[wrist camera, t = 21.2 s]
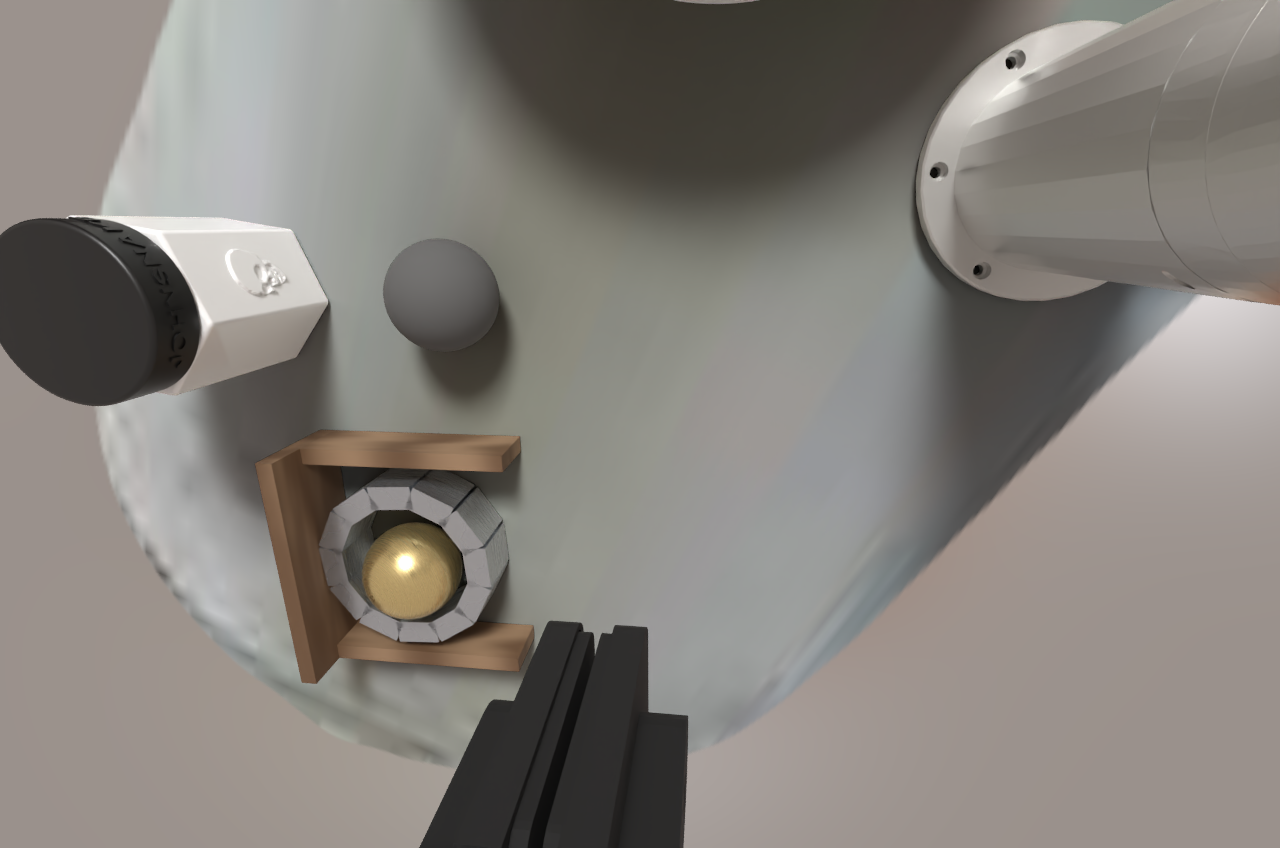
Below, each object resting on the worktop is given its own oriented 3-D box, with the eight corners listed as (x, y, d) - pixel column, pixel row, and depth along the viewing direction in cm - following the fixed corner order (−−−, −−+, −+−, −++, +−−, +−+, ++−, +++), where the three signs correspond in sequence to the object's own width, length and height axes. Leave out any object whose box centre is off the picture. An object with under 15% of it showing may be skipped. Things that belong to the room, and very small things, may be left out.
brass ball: (330, 541, 37) (412, 495, 42) (354, 617, 40) (429, 565, 44) (392, 575, 34) (474, 521, 39) (414, 654, 37) (488, 595, 41)
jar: (351, 334, 38) (195, 381, 27) (247, 378, 40) (60, 438, 28) (278, 191, 36) (74, 174, 24) (171, 243, 38) (-65, 251, 26)
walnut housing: (519, 436, 39) (486, 472, 33) (534, 637, 43) (506, 699, 38) (319, 429, 40) (254, 463, 35) (354, 624, 45) (301, 682, 39)
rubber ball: (509, 237, 35) (469, 239, 29) (517, 341, 37) (480, 363, 31) (409, 237, 36) (351, 240, 30) (421, 340, 38) (369, 360, 32)
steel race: (495, 464, 40) (475, 486, 36) (516, 611, 43) (500, 643, 40) (337, 467, 41) (303, 488, 38) (369, 609, 44) (341, 640, 41)
